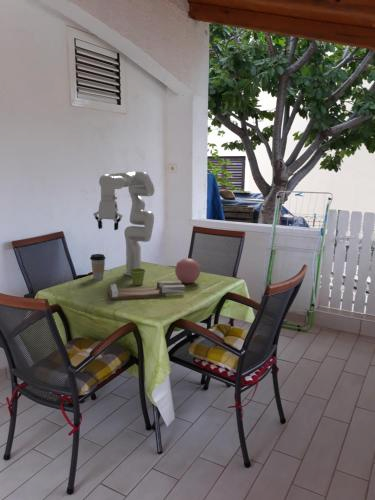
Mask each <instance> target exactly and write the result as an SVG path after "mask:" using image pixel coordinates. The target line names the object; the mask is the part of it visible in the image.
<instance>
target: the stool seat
mask: <svg viewBox="0 0 375 500" xmlns="http://www.w3.org/2000/svg"><path fill="white" fill-rule="evenodd" d="M117 290H118V297H112V293H111V287H109V288H108V295H109V300H110V301H119V300H120V301H121V300H130V299H131V300H134V299H136V300H137V299H150V298H151V299H152V298H153V299H155V298H165V297H166V293H185V292H186V286H185V285H184V284H183V282H181V281H180V280H170V281H169V280H168V281H167V280H166V281H158V282H156V285H152V286H149V285H148V286H132V287H131V286H129V287H117Z"/></svg>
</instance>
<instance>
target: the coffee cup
mask: <svg viewBox="0 0 375 500" xmlns="http://www.w3.org/2000/svg"><path fill="white" fill-rule="evenodd" d="M89 258H90V259H89V260H90V262H91V263H90V264H91V270H92V275H93V276H92V278H93V279H94V280H95V281H100V280H103V279H104V274H105V273H104V272H105V263H106V262H105V259H107V258H106V256H105V254H103V253H94V254H91V256H90V257H89Z"/></svg>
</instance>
